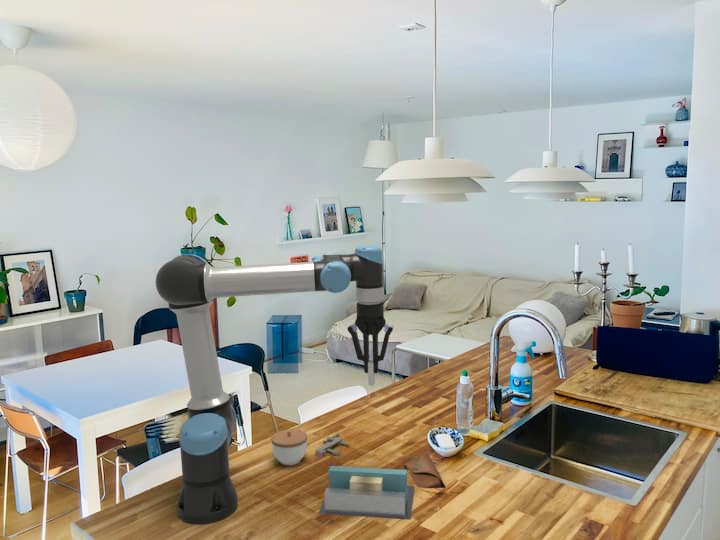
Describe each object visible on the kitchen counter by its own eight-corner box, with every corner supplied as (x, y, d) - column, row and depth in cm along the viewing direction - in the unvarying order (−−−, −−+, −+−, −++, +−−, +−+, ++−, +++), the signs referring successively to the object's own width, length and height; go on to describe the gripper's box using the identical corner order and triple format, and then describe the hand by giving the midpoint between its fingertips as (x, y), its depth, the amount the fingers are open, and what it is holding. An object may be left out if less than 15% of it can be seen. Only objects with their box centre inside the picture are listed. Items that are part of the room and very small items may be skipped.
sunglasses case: (400, 463, 172) (411, 444, 171) (420, 473, 173) (431, 454, 173) (415, 495, 154) (427, 473, 154) (437, 505, 155) (449, 484, 155)
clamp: (329, 455, 174) (305, 446, 181) (329, 462, 175) (305, 453, 181) (360, 437, 186) (336, 430, 192) (360, 444, 186) (336, 436, 193)
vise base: (318, 517, 144) (317, 494, 144) (331, 485, 160) (330, 464, 159) (410, 524, 141) (410, 500, 140) (414, 490, 156) (414, 468, 156)
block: (350, 507, 147) (349, 481, 146) (352, 501, 149) (351, 475, 149) (381, 509, 145) (381, 483, 144) (383, 503, 148) (382, 477, 147)
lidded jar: (314, 456, 178) (313, 427, 177) (296, 472, 168) (295, 441, 167) (284, 450, 182) (283, 422, 181) (265, 465, 173) (263, 435, 171)
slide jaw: (329, 499, 150) (328, 470, 149) (331, 494, 153) (330, 465, 152) (406, 504, 147) (406, 474, 146) (407, 499, 150) (406, 470, 149)
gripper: (394, 299, 163) (395, 380, 166) (349, 299, 165) (351, 378, 168) (392, 304, 156) (393, 389, 159) (344, 304, 158) (346, 387, 161)
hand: (371, 383), depth 164 cm, fingers closed
